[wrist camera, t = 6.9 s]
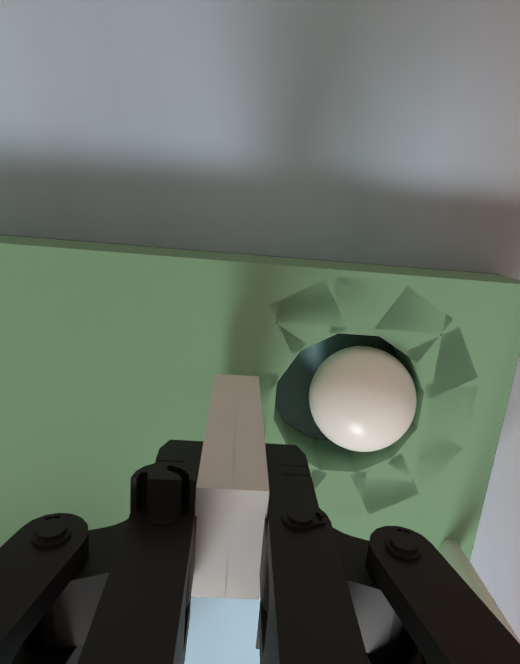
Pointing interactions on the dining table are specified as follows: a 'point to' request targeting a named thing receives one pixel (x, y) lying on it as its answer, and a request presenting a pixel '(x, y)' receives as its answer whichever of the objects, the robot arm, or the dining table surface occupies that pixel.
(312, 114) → the dining table surface
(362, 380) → the ball
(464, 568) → the flag pin
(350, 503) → the putting mat
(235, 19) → the dining table surface
